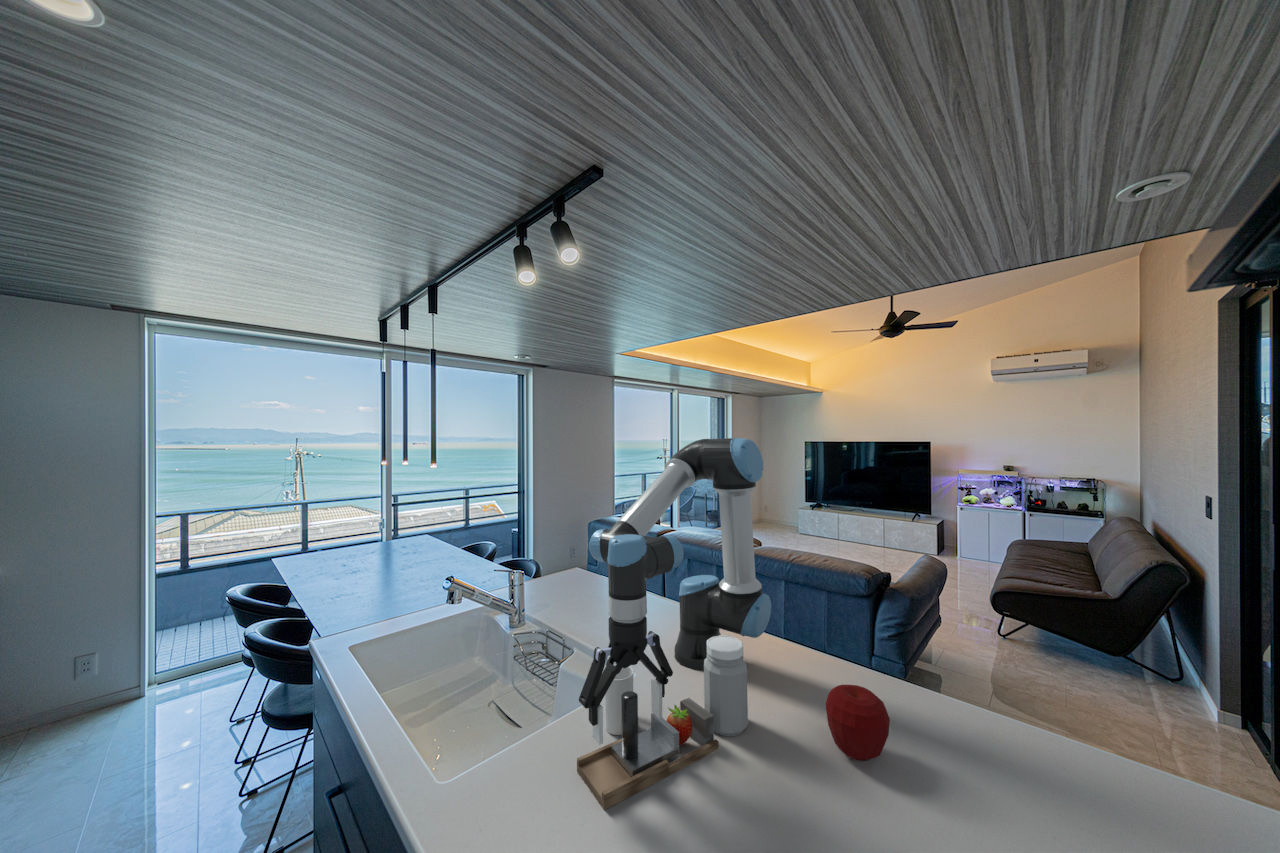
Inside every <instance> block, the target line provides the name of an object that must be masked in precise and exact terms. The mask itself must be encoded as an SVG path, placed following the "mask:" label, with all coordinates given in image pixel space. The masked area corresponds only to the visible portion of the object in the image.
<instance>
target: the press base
mask: <svg viewBox="0 0 1280 853" xmlns="http://www.w3.org/2000/svg"><path fill="white" fill-rule="evenodd" d="M686 709H688V710H687V713H690V714H689V716H690V718H691V721H692V733H691V735H690V737H689V738H690V739H692V740H693V741H694V742H695V743H696V744H698V745H699V746H700V747H698V748H696V749H694V750H692V751H690V752H688V753H686V754H684V755H682V756H681V757H678V758H677V759H676V758H675V759H674V760H673V761H671V762H669V761H668V760H664V761H662V762H660V763H658V764H656V765H654V766H652V767H650V768H648V769H646V770H644V771H642V772H640V773H638V774H636V775H634V776H631V775H630V774H629V773H628V772H627V770H626V769H625V768H624V767H623V766H622V765H621V763H620V762H619V761H618V760H617V759H616V758H615V756H614V755H613V754H612V753H611V746H612V745H615V744H617V743H619V742H621V741H622V738H620V739H618V740H615V741H613V742H611V743H608V744H605V745H604V746H602V747H598V749H595V750H593V751H590V752H588V753H585V754H583V755H582V756H578V757H577V758H576V772H577V774H578V775H579V776H580V778H581V779H582V781H583V782H584V783H585V785H586V787H587V788H588V789H589V790H590V792H591V794H593V796H594V798H595V799H596V801H597V802H598V803H599V805H600V806H601V808H602V810H604V811H606V810H607V809H609V808H612V807H614V806H615V805H617V804H619V803H621V802H623V801H624V800H627V799H628V798H630V797H633V796H634V795H636V794H637V793H640V792H641V791H644V790H645V789H647V788H648V787H651V786H653V785H654V784H656V783H658V782H660V781H662V780H664V779H666V778H667V777H669V776H672V775H674V774H675V773H677V772H678V771H681V770H683V769H684V768H686V767H688V766H690V765H692V764H694V763H696V762H697V761H700V760H702V759H703V758H705V757H707V756H709V755H711V754H713V753H714V752H716V751H718V750H720V741H719V740H717V739H716V738H715V736H714V735H715V734H714V733H715V732H714V721H713V715H712V714H710V713H709V712H708V711H706V710H705V707H704V708H703V707H702V706H701V705H699V703H697V702H696V701H695V700H693V699H691V698H690V697H688V698H684V699H682V700H680V701H679V710H682V711H683V710H686ZM639 733H640V732H638V734H639Z"/></svg>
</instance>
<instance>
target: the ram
mask: <svg viewBox="0 0 1280 853" xmlns="http://www.w3.org/2000/svg"><path fill="white" fill-rule="evenodd" d="M638 696H639V695H638V693H636V692H635V691H633V692H631V691H628V692H625V693H623V694H622V695H621V712H622V735H621V739H622V741H621V742H619V743H617V744H615V745H612V746H611V753H612V754H613V755H614V756H615V758H616V759H617V760H618V761H619V762H620V763H621V765H622V766H623V767H624V768H625V769H626V770H627V772H628V773H629V774H630V775H631V776H634V775H636V774H638V773H640V772H642V771H644V770H646V769H648V768H650V767H652V766H654V765H656V764H658V763H660V762H662V761H664V760H667V761H668V760H670V759H671V758H674V757H676V756H678V755H680V745H679V732H678V731H677V730H676V729H675V728H674V727H673V726H671V725H670V724H669V723H668V722H667V719H665V718H663V717H662V718H660V719H659V718H658V717H657V716H656V715H655V714H654V713H652V712H651V713H650V728H648V729H645V730H644V731H642V732H639V698H638ZM638 733H639V734H638Z"/></svg>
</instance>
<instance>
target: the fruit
mask: <svg viewBox="0 0 1280 853" xmlns="http://www.w3.org/2000/svg"><path fill="white" fill-rule="evenodd" d="M667 708H668V710H669V711H670V713H669V715H668V716H667V718H666V721H667V722H668V723H669V724H670V725H671V726H673V727H674V728H675V729H676V730H677V731H678V732H679V746H682V745H684V744H685V743H687V742H688V740H689V739H690V738H691V737H690V735H691V733H692V721H691V718H690V716H689V714H690V713H687V710H688V709H686V710H683V711H682V710H680V708H679V706H677V705H676V704H674V709H672V708H670V707H669V706H668V707H667Z"/></svg>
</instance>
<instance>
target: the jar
mask: <svg viewBox="0 0 1280 853" xmlns="http://www.w3.org/2000/svg"><path fill="white" fill-rule="evenodd" d="M703 682H704V684H703V686H704V687H703V690H704V691H703V693H704V694H703V696H704V698H703V699H704V709H705V710H706V711H708V712H709V713H710V714H712V715H713V721H714V733H716V734H719V735H721V736H726V737H733V736H737V735H740V734H741V733H742V732H743V731H745V729H746V728H747V727H748V725H749V718H748V717H749V714H748V713H749V711H748V708H749V706H748V705H749V704H748V668H747V662H746V661H745V660H744V643H743V641H741V640H740V639H739V638H736V637H734V636H730V635H722V634H721V635H719V636H714V637H711V638H710V639H708V640H707V657H706V659H705V660H704V669H703Z"/></svg>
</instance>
